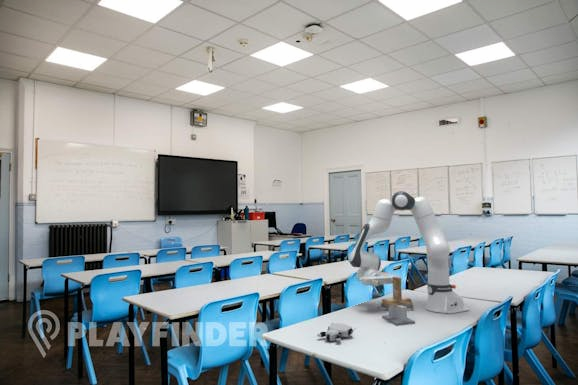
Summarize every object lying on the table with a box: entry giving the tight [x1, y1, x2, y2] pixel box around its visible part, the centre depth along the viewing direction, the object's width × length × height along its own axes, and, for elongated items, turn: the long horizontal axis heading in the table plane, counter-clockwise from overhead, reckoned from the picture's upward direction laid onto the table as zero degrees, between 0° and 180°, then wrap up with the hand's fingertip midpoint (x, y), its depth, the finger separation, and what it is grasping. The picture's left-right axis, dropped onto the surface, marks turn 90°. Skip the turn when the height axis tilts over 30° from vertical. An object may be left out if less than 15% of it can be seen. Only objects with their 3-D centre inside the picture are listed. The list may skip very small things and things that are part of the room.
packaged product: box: [379, 298, 414, 312], centre depth 219 cm, size 18×5×10 cm
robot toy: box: [316, 322, 357, 342], centre depth 169 cm, size 12×4×15 cm
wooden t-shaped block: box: [383, 276, 412, 306], centre depth 195 cm, size 14×3×14 cm, turn 105°
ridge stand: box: [381, 305, 416, 327], centre depth 194 cm, size 10×14×8 cm
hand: (386, 282), depth 205 cm, fingers open, 8 cm apart
